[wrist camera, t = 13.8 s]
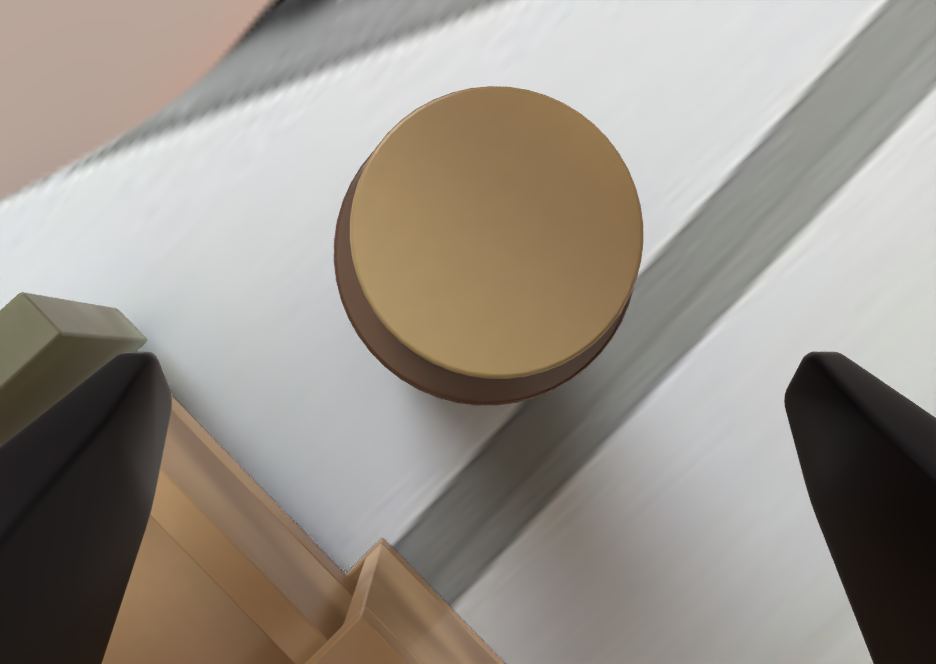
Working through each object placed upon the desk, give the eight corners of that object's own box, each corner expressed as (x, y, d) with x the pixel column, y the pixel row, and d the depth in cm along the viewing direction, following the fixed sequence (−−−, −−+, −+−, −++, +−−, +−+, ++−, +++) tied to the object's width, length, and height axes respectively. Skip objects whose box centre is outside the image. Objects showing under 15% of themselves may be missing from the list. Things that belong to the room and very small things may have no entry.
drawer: (-220, 549, 17) (-432, 611, 12) (85, 274, 17) (-23, 246, 13) (159, 936, 17) (70, 1123, 13) (446, 645, 17) (450, 733, 13)
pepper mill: (479, 412, 18) (549, 487, 7) (353, 328, 18) (238, 277, 7) (561, 289, 19) (747, 184, 8) (438, 205, 19) (449, -20, 8)
